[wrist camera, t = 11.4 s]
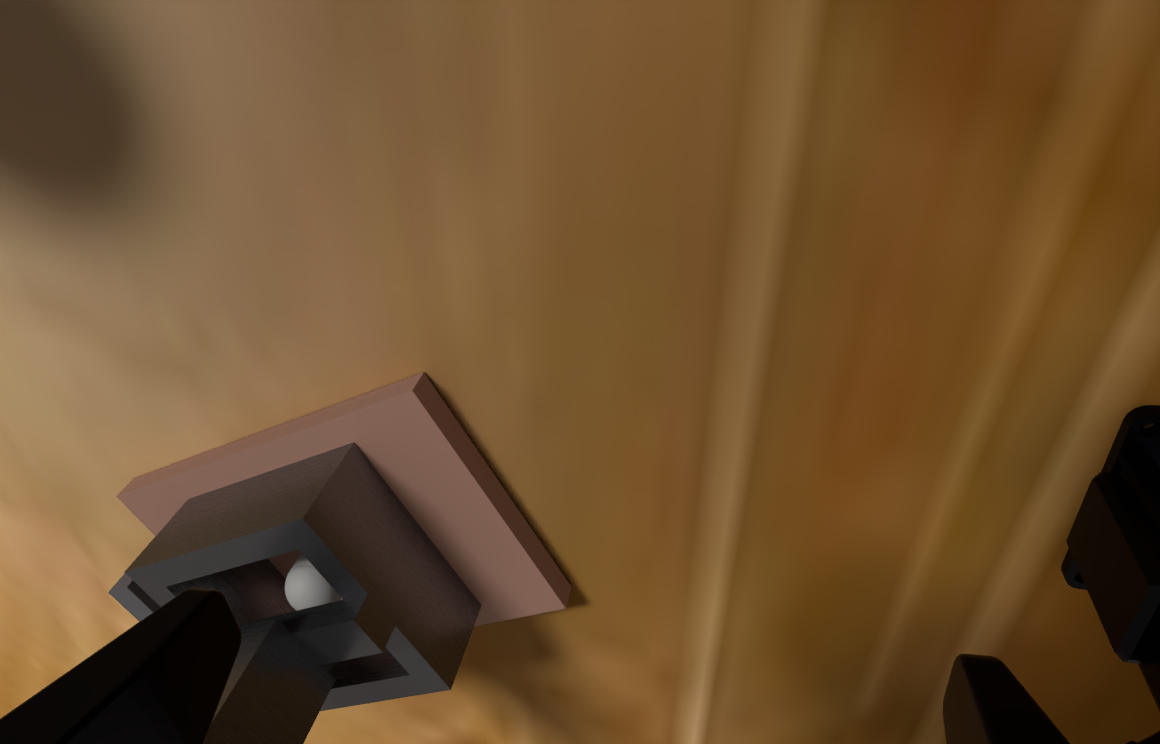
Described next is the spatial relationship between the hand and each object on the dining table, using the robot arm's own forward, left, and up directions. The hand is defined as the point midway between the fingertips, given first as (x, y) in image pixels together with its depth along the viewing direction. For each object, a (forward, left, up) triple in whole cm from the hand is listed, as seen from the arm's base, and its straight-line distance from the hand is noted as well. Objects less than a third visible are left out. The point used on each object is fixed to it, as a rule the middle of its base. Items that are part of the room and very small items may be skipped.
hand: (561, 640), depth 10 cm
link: (+12, +13, -12) cm, 21 cm away
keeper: (+12, +13, -13) cm, 22 cm away
